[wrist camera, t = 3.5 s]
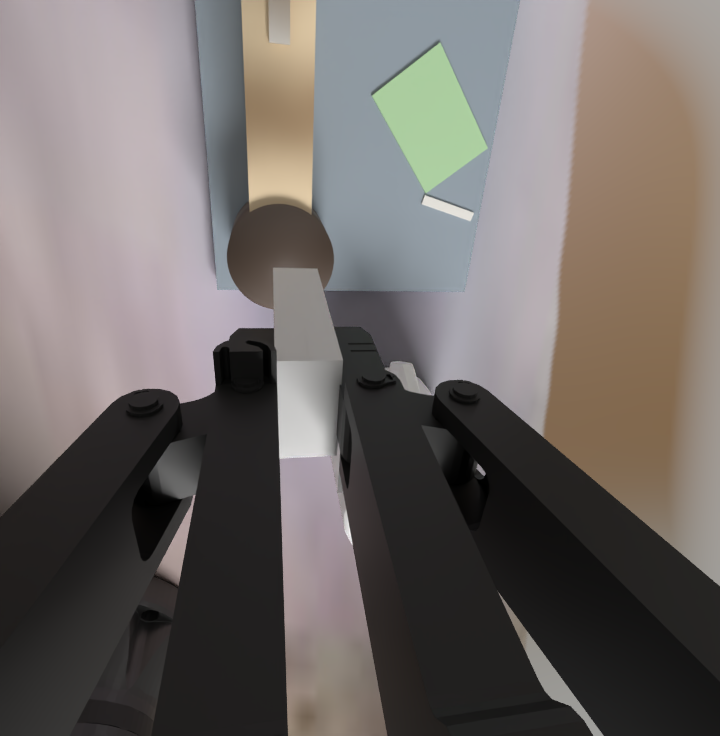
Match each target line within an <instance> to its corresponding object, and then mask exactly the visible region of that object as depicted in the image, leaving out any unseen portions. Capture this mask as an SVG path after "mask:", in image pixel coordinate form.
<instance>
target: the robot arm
mask: <svg viewBox="0 0 720 736" xmlns="http://www.w3.org/2000/svg"><path fill="white" fill-rule="evenodd" d="M273 295H274V328H239V329H238V330H236V331H235V332H234V333H233V334H232V335H231V336H230V339H229V341H225V342H223V343H221V344H220V345H218V346H216V348H215V349H214V351H213V359H214V370H215V381H216V387H215V392H214V393H212V394H211V395H209V396H207V397H204V398H202V399H199V400H195V401H191V402H186V403H182V404H180V402H179V399H178V397H177V396H176V395H175V394H173V393H172V392H170V391H166V390H162V389H142V390H137V391H133V392H131V393H129V394H126V395H124V396H121V397H120V398H118V399H117V400H116V401H114V402H113V403H112V404H111V405H110V406H109V407H108V408H107V409H106V410H105V411H104V412H103V413H102V414H101V415H100V416H99V417H98V418H97V419H96V420H95V421H94V422H93V423H92V424H91V425H90V426H89V427H88V428H87V429H86V430H85V431H84V432H83V433H82V434H81V435H80V436H79V437H78V439H77V440H76V441H75V442H74V443H73V444H72V445H71V446H70V447H69V448H68V449H67V450H66V451H65V452H64V453H63V454H62V455H61V456H60V457H59V458H58V459H57V460H56V461H55V462H54V463H53V464H52V465H51V466H50V467H49V468H48V469H47V470H46V471H45V472H44V473H43V474H42V475H41V476H40V477H39V478H38V479H37V480H36V481H35V483H34V484H33V485H32V486H31V487H30V488H29V489H28V490H27V491H26V492H25V493H24V494H23V495H22V496H21V497H20V498H19V499H18V500H17V501H16V502H15V503H14V504H13V505H12V506H11V507H10V508H9V509H8V510H7V511H6V512H5V513H4V514H3V515H2V516H1V517H0V736H288V725H287V692H286V659H285V626H284V593H283V560H282V527H281V494H280V461H279V459H280V458H299V457H319V456H337V447H338V444H339V449H340V462H339V476H338V491H337V493H342V489H343V494H344V500H345V505H346V511H347V516H348V522H349V527H350V533H351V538H352V544H353V549H354V554H355V560H356V565H357V571H358V576H359V582H360V587H361V593H362V598H363V604H364V609H365V615H366V620H367V626H368V631H369V637H370V642H371V648H372V653H373V659H374V664H375V670H376V675H377V681H378V686H379V692H380V697H381V702H382V708H383V713H384V719H385V724H386V730H387V735H388V736H593V734H592V733H591V731H590V730H589V728H588V726H587V725H586V723H585V721H584V720H583V719H582V718H581V717H580V716H579V715H578V714H577V713H576V712H575V711H574V710H573V709H572V707H571V706H569V705H566V704H563V703H560V702H558V701H555V700H552V699H551V698H550V697H549V696H548V694H547V693H546V692H545V691H544V689H543V687H542V686H541V684H540V682H539V680H538V678H537V676H536V674H535V672H534V669H533V667H532V665H531V663H530V661H529V659H528V656H527V654H526V652H525V650H524V648H523V645H522V643H521V641H520V639H519V637H518V635H517V632H516V630H515V628H514V626H513V624H512V622H511V619H510V617H509V615H508V613H507V611H506V609H505V606H504V604H503V602H502V600H501V598H500V596H499V593H500V595H501V596H502V597H503V599H504V600H505V601H506V603H507V604H508V606H509V607H510V608H511V610H512V611H513V612H514V614H515V615H516V616H517V618H518V619H519V621H520V622H521V623H522V625H523V626H524V627H525V629H526V630H527V631H528V633H529V634H530V636H531V637H532V638H533V640H534V641H535V642H536V644H537V645H538V646H539V648H540V649H541V650H542V652H543V653H544V655H545V656H546V657H547V659H548V660H549V661H550V663H551V664H552V666H553V667H554V668H555V670H556V671H557V672H558V674H559V675H560V676H561V678H562V679H563V681H564V682H565V683H566V685H567V686H568V687H569V689H570V690H571V691H572V693H573V694H574V696H575V697H576V698H577V700H578V701H579V702H580V704H581V705H582V706H583V708H584V709H585V710H586V712H587V713H588V715H589V716H590V717H591V719H592V720H593V722H594V723H595V724H596V726H597V727H598V728H599V730H600V731H601V732H602V734H603V735H604V736H720V586H719V585H718V584H716V583H715V582H714V581H713V580H712V579H710V578H709V577H708V576H707V575H706V574H704V573H703V572H702V571H701V570H700V569H699V568H697V567H696V566H695V565H694V564H692V563H691V562H690V561H689V560H688V559H687V558H686V557H684V556H683V555H682V554H681V553H679V552H678V551H677V550H676V549H675V548H674V547H672V546H671V545H670V544H669V543H668V542H667V541H665V540H664V539H663V538H662V537H661V536H659V535H658V534H657V533H656V532H655V531H653V530H652V529H651V528H650V527H649V526H648V525H646V524H645V523H644V522H643V521H642V520H640V519H639V518H638V517H637V516H636V515H635V514H633V513H632V512H631V511H630V510H629V509H627V508H626V507H625V506H624V505H623V504H621V503H620V502H619V501H618V500H617V499H616V498H614V497H613V496H612V495H611V494H610V493H608V492H607V491H606V490H605V489H604V488H602V487H601V486H600V485H599V484H598V483H597V482H595V481H594V480H593V479H592V478H591V477H590V476H588V475H587V474H586V473H585V472H584V471H582V470H581V469H580V468H579V467H578V466H576V465H575V464H574V463H573V462H572V461H571V460H569V459H568V458H567V457H566V456H565V455H563V454H562V453H561V452H560V451H559V450H558V449H556V448H555V447H554V446H552V445H551V444H550V443H549V442H548V441H547V440H546V439H544V438H543V437H542V436H541V435H540V434H539V433H537V432H536V431H535V430H534V429H533V428H531V427H530V426H529V425H528V424H527V423H526V422H524V421H523V420H522V419H521V418H520V417H518V416H517V415H516V414H515V413H514V412H512V411H511V410H510V409H509V408H508V407H507V406H505V405H504V404H503V403H502V402H501V401H499V400H498V399H497V398H496V397H495V396H494V395H492V394H491V393H490V392H489V391H488V390H486V389H484V388H483V387H481V386H480V385H477V384H474V383H472V382H470V381H465V380H464V381H463V380H449V381H445V382H442V383H440V384H439V385H438V386H437V387H436V389H435V394H434V396H432V395H426V394H420V393H415V392H410V391H407V390H405V389H404V387H403V385H402V383H401V381H400V379H399V378H398V377H397V376H396V375H395V374H393V373H391V372H389V371H387V370H385V368H384V366H383V363H382V361H381V359H380V356H379V354H378V352H377V349H376V347H375V345H374V342H373V340H372V338H371V335H370V334H369V333H368V332H366V331H365V330H363V329H362V328H361V327H334V326H333V322H332V319H331V315H330V312H329V308H328V305H327V301H326V298H325V294H324V290H323V287H322V283H321V280H320V276H319V273H318V269H311V268H273ZM477 464H479V465H480V466H481V467H482V468H483V470H484V471H485V473H486V475H485V476H483V475H482V474H481V473H480V472H479V471H478V470H477V469H476V468H477ZM193 495H196V496H195V501H194V506H193V512H192V517H191V523H190V528H189V533H188V539H187V544H186V550H185V555H184V560H183V566H182V571H181V577H180V582H179V587H178V588H176V587H175V586H173V585H171V584H170V583H168V582H166V581H163V580H161V579H159V578H156V577H153V576H154V574H155V572H156V570H157V568H158V566H159V565H160V563H161V561H162V559H163V557H164V555H165V553H166V551H167V549H168V547H169V545H170V544H171V542H172V540H173V538H174V536H175V534H176V532H177V530H178V528H179V526H180V524H181V523H182V521H183V519H184V517H185V515H186V513H187V511H188V509H189V507H190V505H191V502H192V498H193ZM497 590H498V591H497ZM498 592H499V593H498Z"/></svg>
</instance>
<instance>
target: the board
mask: <svg viewBox="0 0 720 736" xmlns="http://www.w3.org/2000/svg"><path fill="white" fill-rule="evenodd" d="M519 3H520V0H316V33H315V78H314V124H313V169H312V208H313V209H314V210H315V211H316V213H317V214H318V216H319V218H320V220H321V222H322V224H323V226H324V228H325V230H326V232H327V234H328V236H329V238H330V241H331V244H332V247H333V252H334V266H333V271H332V275H331V278H330V280H329V282H328V284H327V286H326V287H325V289H324V291H410V292H465V287H466V282H467V277H468V271H469V266H470V261H471V256H472V250H473V245H474V240H475V235H476V229H477V224H478V219H479V213H480V208H481V203H482V198H483V192H484V187H485V182H486V177H487V171H488V166H489V161H490V156H491V150H492V145H493V140H494V135H495V129H496V124H497V119H498V114H499V108H500V103H501V98H502V93H503V87H504V82H505V77H506V72H507V66H508V61H509V56H510V51H511V45H512V40H513V35H514V30H515V24H516V19H517V14H518V9H519ZM195 11H196V24H197V36H198V49H199V62H200V75H201V87H202V100H203V113H204V126H205V139H206V151H207V164H208V177H209V190H210V202H211V215H212V228H213V241H214V254H215V266H216V279H217V290H239V289H238V288H237V286H236V285H235V283H234V281H233V280H232V278H231V275H230V273H229V269H228V264H227V248H228V243H229V239H230V235H231V232H232V228H233V224H234V221H235V218H236V216H237V214H238V212H239V211H240V209H241V208H242V207H243V206H244V205H245V204H246V203H247V202H248V201H249V184H248V159H247V134H246V109H245V84H244V59H243V34H242V9H241V0H195Z"/></svg>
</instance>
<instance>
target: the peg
mask: <svg viewBox="0 0 720 736" xmlns="http://www.w3.org/2000/svg"><path fill="white" fill-rule="evenodd" d="M241 9H242V34H243V59H244V84H245V109H246V134H247V159H248V184H249V201H248V202H247V203H246V204H245V205H244V206H243V207H242V208H241V209H240V211H239V212H238V214H237V216H236V218H235V221H234V224H233V228H232V232H231V235H230V239H229V243H228V248H227V264H228V269H229V273H230V275H231V278H232V280H233V281H234V283H235V285H236V286H237V288H238V289H239V290H240V291H241V292H242V293H243V294H244V295H245V296H246V297H247V298H248V299H250V300H251V301H253V302H254V303H256V304H258V305H260V306H263V307H266V308H270V309H274V295H273V268H311V269H318V273H319V276H320V280H321V283H322V287H323V290H324V289H325V287H326V286H327V284H328V282H329V280H330V278H331V275H332V271H333V266H334V252H333V247H332V244H331V241H330V238H329V236H328V234H327V232H326V230H325V228H324V226H323V224H322V222H321V220H320V218H319V216H318V214H317V213H316V211H315V210H314V209H313V208H312V169H313V124H314V78H315V33H316V0H241Z"/></svg>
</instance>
